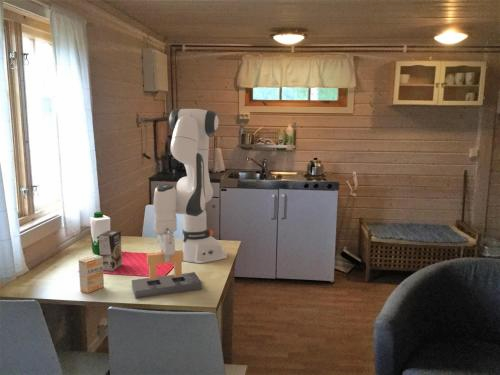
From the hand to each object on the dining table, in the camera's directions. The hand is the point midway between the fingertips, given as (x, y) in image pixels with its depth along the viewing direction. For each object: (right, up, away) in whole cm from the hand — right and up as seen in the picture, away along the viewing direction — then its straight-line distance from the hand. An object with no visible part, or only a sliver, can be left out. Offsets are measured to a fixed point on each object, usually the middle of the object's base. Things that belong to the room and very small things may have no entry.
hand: (165, 259), depth 183 cm
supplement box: (-29, -12, +1) cm, 32 cm away
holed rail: (0, -12, +2) cm, 12 cm away
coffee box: (-29, -8, +26) cm, 40 cm away
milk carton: (-40, -4, +46) cm, 62 cm away
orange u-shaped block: (0, -7, +1) cm, 7 cm away
